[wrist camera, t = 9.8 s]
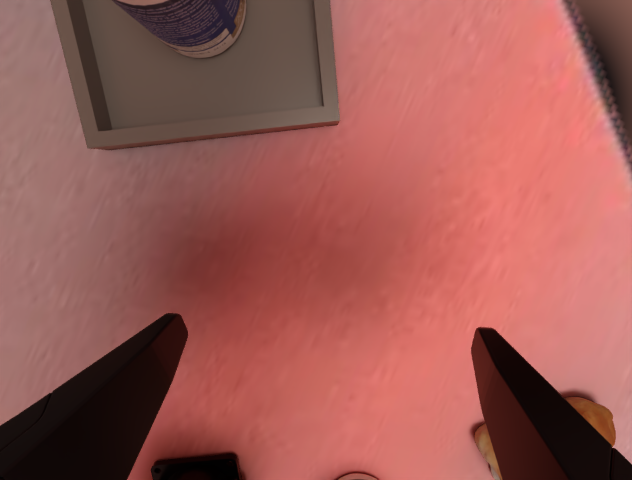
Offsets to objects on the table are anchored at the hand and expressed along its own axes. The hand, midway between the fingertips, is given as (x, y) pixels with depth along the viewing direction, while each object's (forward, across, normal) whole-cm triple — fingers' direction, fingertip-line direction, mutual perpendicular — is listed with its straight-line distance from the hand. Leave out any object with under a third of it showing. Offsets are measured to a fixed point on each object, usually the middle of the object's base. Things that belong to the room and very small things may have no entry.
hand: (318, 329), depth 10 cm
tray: (+14, +8, -9) cm, 19 cm away
